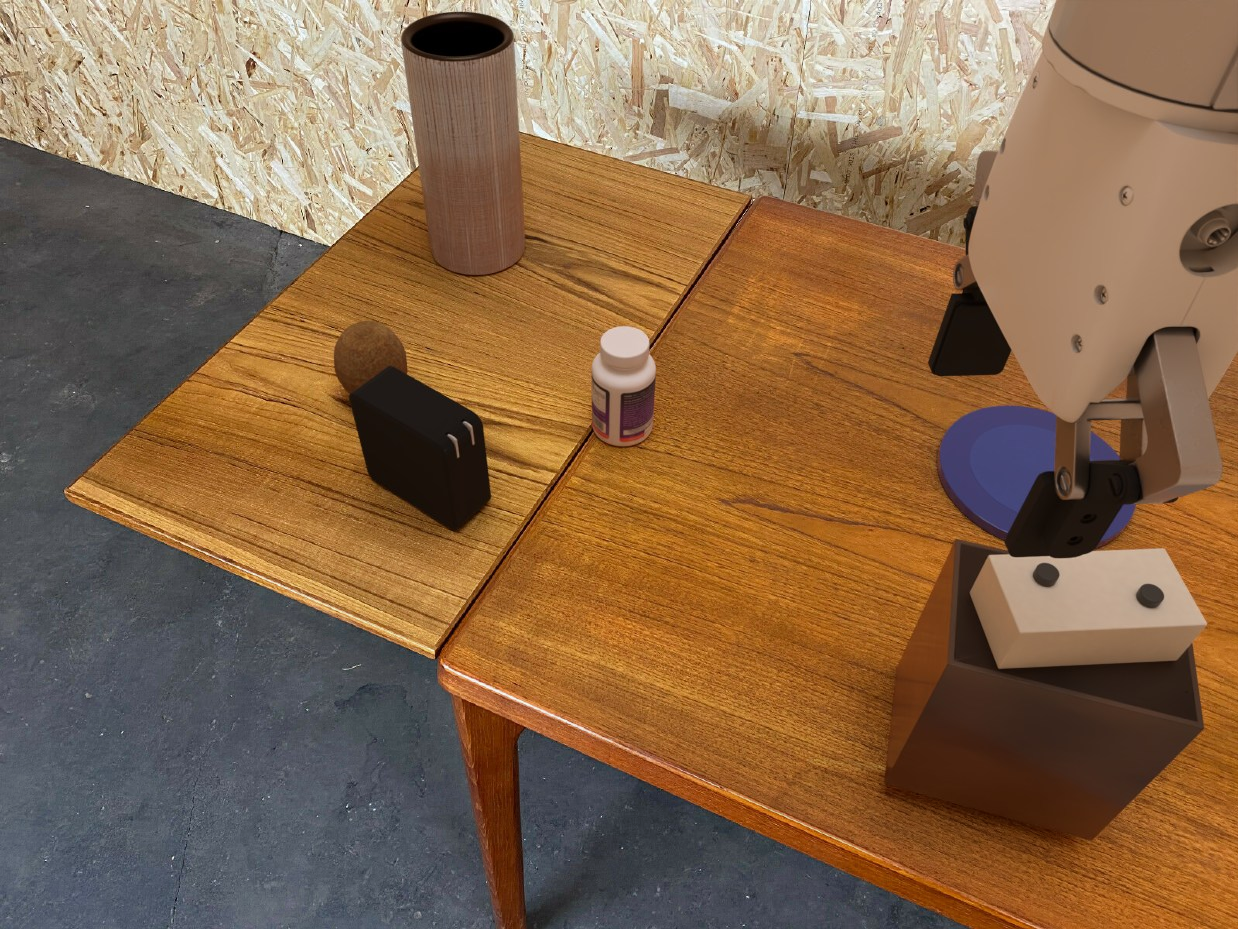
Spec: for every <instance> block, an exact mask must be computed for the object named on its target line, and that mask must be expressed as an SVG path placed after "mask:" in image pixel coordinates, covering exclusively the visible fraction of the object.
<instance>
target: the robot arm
mask: <svg viewBox="0 0 1238 929" xmlns="http://www.w3.org/2000/svg"><path fill="white" fill-rule="evenodd" d="M1041 40H1042V41H1041V52H1040V55H1039V57H1038V59H1037V60H1036V63H1035V65H1034V67H1033V69H1032V71H1031V73H1030V75H1029V78H1028V80H1027V82H1026V85H1025V86H1024V89H1023V91H1022V93H1021V96H1020V97H1019V100H1018V102H1017V104H1016V107H1015V109H1014V112H1013V114H1012V117H1011V119H1010V122H1009V124H1008V126H1007V128H1006V131H1005V133H1004V135H1003V139H1002V141H1001V143H1000V146H999V149H998V150H997V149H996V150H982V151H981V152H980V153H979V155H978V157H977V160H976V161H977V162H976V168H975V175H974V176H975V177H974V187H973V194H972V202H975V205H971V206H970V207H969V208H968V210H967V212H966V214H965V217H964V218H963V223H962V224H963V228H964V231H965V232H964V235H965V236H964V239H965V240H964V241H965V243H964V244H965V256H963V257H962V258H960V259H958V260H957V261H956V262H955V264H954V267H953V271H952V283H953V287H954V289H955V290H957V291H961V292H960V293H959V292H958V293H951V294H950V297H949V300H948V303H947V306H946V309H945V312H944V315H943V317H942V321H941V322H940V326H939V329H938V332H937V335H936V338H935V341H934V343H933V346H932V349H931V352H930V356H929V358H928V361H927V364H928V367H929V369H930V372H931V374H932V375H934V376H937V377H968V376H970V377H971V376H997V375H999V374H1001V373H1002V372H1003V371H1004V369H1005V367H1006V365H1007V362H1008V360H1009V357H1010V355H1011V353H1012V354H1013V355H1014V357H1015V360H1016V361H1017V363H1018V365H1019V366H1020V368H1021V370H1022V372H1023V374H1024V375H1025V377H1026V379H1027V381H1028V383H1029V385H1030V386H1031V388H1032V390H1033V392H1034V393H1035V395H1036V396H1037V397H1038V399H1039V400H1040V401H1041V403H1042V404H1043V405H1044V406H1045V407H1046V408H1047V409H1048V410H1049V412H1052V413H1054V414H1055V415H1056V438H1055V467H1054V471H1046V472H1043V473H1040V474H1039V475H1038V476H1037V478H1036V480H1035V482H1034V484H1033V486H1032V487H1031V489H1030V491H1029V493H1028V495H1027V497H1026V499H1025V501H1024V503H1023V505H1022V507H1021V509H1020V511H1019V513H1018V514H1017V516H1016V518H1015V520H1014V522H1013V524H1012V526H1011V528H1010V530H1009V532H1008V534H1007V536H1006V539H1005V541H1004V546H1005V548H1006V550H1008V552H1009V554H1010V556H1012V557H1040V556H1050V557H1052V558H1074V557H1078V556H1081V555H1084V554H1088V553H1090V552H1092V551H1095V550H1096V549H1095V548H1096V547H1097V545H1098V544H1099V542H1100V541H1101V539H1102V538H1103V536H1104V535H1105V533H1106V531H1107V530H1108V528H1109V527H1110V525H1111V524H1112V522H1113V520H1114V519H1115V517H1116V516H1117V514H1118V513H1119V511H1120V509H1121V508H1122V506H1123V505H1129V504H1136V505H1150V504H1173V503H1175V502H1177V501H1178V500H1179V498H1183V497H1186V496H1189V495H1191V494H1195V493H1197V492H1200V491H1202V490H1206V489H1208V488H1210V487H1213V486H1215V485H1216V484H1218V483H1219V482H1220V480H1221V479H1222V477H1223V472H1224V467H1223V466H1224V465H1223V459H1222V456H1221V455H1222V454H1221V451H1220V450H1221V449H1220V445H1219V441H1218V437H1217V432H1216V428H1215V423H1214V418H1213V414H1212V410H1211V404H1210V401H1209V399H1210V398H1211V396H1212V394H1214V391H1215V390H1216V388H1217V386H1218V385H1219V384H1220V382H1221V380H1222V379H1223V377H1224V375H1225V373H1226V372H1227V370H1228V369H1229V367H1230V365H1231V363H1232V362H1233V360H1234V359H1235V357H1236V356H1237V354H1238V0H1055V2H1054V6H1053V8H1052V11H1051V13H1050V17H1049V20H1048V22H1047V25H1046V28H1045V31H1044V34H1043V37H1042V39H1041ZM1125 381H1126V393H1125V394H1126V396H1125V397H1124V398H1123V397H1122V398H1120V397H1119V398H1106V397H1108V396H1109V395H1110V394H1111V393H1113V391H1115V390H1116V389H1117V388H1118V387H1119V386H1120V385H1121V384H1122V383H1124V382H1125ZM1117 420H1118V421H1120V429H1119V430H1120V431H1119V432H1120V434H1119V453H1118V455H1119V460H1103V461H1090V442H1091V431H1092V422H1093V421H1117Z"/></svg>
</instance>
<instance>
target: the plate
mask: <svg viewBox="0 0 1238 929" xmlns="http://www.w3.org/2000/svg"><path fill="white" fill-rule="evenodd" d="M1055 438H1056V415H1055V414H1054V413H1052V412H1051V411H1050V410H1049V411H1048V410H1045V409H1040V408H1036V407H1030V406H1023V405H1014V404H1013V405H1010V404H1009V405H995V406H987V407H983V408H979V409H976V410H973V411H970V412H968V413H966V414H964V415H963V416H961V417H959V418H958V419H957V420H956V421H954V422H953V423H952V424H951V425H950V426H949V427H948V428H947V430H946V432H945V433H944V434H943V436H942V439H941V441H940V444H939V447H938V450H937V455H936V468H937V473H938V478H939V480H940V482H941V486H942V487H943V489H944V491H945V493H946V495H947V497H949V499H950V500H951V502H952V503H953V504H954V505H955V507H956V508H957V509H958V510H959V512H961V513H962V514H963V515H964V516H966V518H967V519H969V520H970V521H971V522H972V523H974V524H975V525H976V526H977V527H979V528H981V529H982V530H983V531H985V532H987V533H988V534H990V535H992V536H994V537H995V538H998V539H1000V540H1002V541H1004V542H1005V539H1006V536H1007V534H1008V532H1009V530H1010V528H1011V526H1012V524H1013V522H1014V520H1015V518H1016V516H1017V514H1018V513H1019V511H1020V509H1021V507H1022V505H1023V503H1024V501H1025V499H1026V497H1027V495H1028V493H1029V491H1030V489H1031V487H1032V486H1033V484H1034V482H1035V480H1036V478H1037V476H1038V475H1039V474H1040V473H1043V472H1046V471H1054V467H1055ZM1103 460H1119V453H1117V452H1116V451H1115V449H1114V448H1113V447H1112V446H1110V444H1108V443H1107V441H1105V440H1104V439H1103V438H1101V437H1100V436H1099V435H1097V434H1096V433H1094V431H1092V430H1091V442H1090V461H1103ZM1136 505H1137V504H1129V505H1123V506H1122V508H1121V509H1120V511H1119V513H1118V514H1117V516H1116V517H1115V519H1114V520H1113V522H1112V524H1111V525H1110V527H1109V528H1108V530H1107V531H1106V533H1105V535H1104V536H1103V538H1102V539H1101V541H1100V542H1099V544H1098V545H1097V547H1096V548H1095V549H1094V550H1096V549H1099V548H1101V547H1103V546H1106V545H1108V544H1109V543H1111V542H1113V541H1114V540H1116V539H1117V538H1118V537H1119V536H1120V535H1121V534H1122V533H1123V532H1124V530H1125V529H1126V528H1127V526H1128V524H1129V523H1130V521H1131V520H1132V518H1133V516H1134V515H1135V514H1134V513H1135V511H1136Z"/></svg>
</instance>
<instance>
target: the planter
mask: <svg viewBox="0 0 1238 929" xmlns="http://www.w3.org/2000/svg"><path fill="white" fill-rule="evenodd" d="M514 34H515V33H514V32H513V29H512V28H511V27H510V26H509V25H508V24H507V23H506V22H505V21H503V20H501V19H500V18H498V17H496V16H493V15H490V14H486V13H481V12H475V11H446V12H439V13H435V14H434V13H433V14H431V15H427V16H423V17H421V18H419V19H417V20H415V21H413V22H411V23H410V24H408V25H407V27H405V28H404V30H403V31H402V33H401V36H400V44H401V45H400V46H401V52H402V60H403V66H404V73H405V80H406V87H407V94H408V102H409V108H410V115H411V121H412V129H413V135H414V143H415V149H416V150H415V151H416V155H417V156H416V157H417V163H418V170H419V177H420V178H419V179H420V186H421V191H422V199H423V206H424V213H425V220H426V227H427V233H428V241H429V245H430V251H431V254H432V257H433V259H434V261H436V263H437V264H439V265H440V266H441V267H442V268H444V269H446V270H448V271H451V272H454V273H457V274H462V275H468V276H484V275H490V274H494V273H498V272H501V271H503V270H505V269H508V268H510V267H512V266H513V265H514V264H516V263H517V262H518V261H519V260H520V259H521V258H522V256H523V254H524V253H525V249H526V228H525V210H524V208H525V207H524V192H523V174H522V157H521V155H522V154H521V140H520V139H521V136H520V120H519V118H520V117H519V104H518V85H517V82H518V81H517V67H516V66H517V65H516V47H515V35H514Z"/></svg>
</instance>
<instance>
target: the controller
mask: <svg viewBox="0 0 1238 929" xmlns="http://www.w3.org/2000/svg"><path fill="white" fill-rule="evenodd" d="M970 595H971V598H972V601H973V603H974V606H975V608H976V611H977V614H978V616H979V619H980V622H981V624H982V627H983V630H984V632H985V635H986V637H987V640H988V643H989V645H990V648H991V651H992V653H993V656H994V659H995V661H996V664H997V667H998V668H999V669H1006V668H1028V667H1049V666H1070V665H1092V664H1113V663H1135V662H1156V661H1176V660H1178V658H1179V657H1180V656H1181V655H1182V654H1183V653H1184V651H1185V650H1186V649H1187V648H1188V647H1189V646H1190V644H1191V643H1193V642H1194V641H1195V640H1196V639H1197V638H1198V637H1199V635H1200V634H1201V633H1202V632H1203V631H1204V630H1205V628H1206V627H1207V626H1208V622H1207V621H1206V619H1205V617H1204V615H1203V613H1202V611H1201V609H1200V608H1199V605H1198V604H1197V602H1196V601H1195V599H1194V597H1193V596H1192V594H1191V592H1190V590H1189V589H1188V587H1187V585H1186V583H1185V581H1184V580H1183V578H1182V577H1181V574H1180V572H1179V571H1178V569H1177V568H1176V565H1175V564H1174V562H1173V561H1172V559H1171V556H1170V555H1169V554H1168V552H1167V550H1166V548H1164V547H1162V548H1161V547H1159V548H1157V547H1156V548H1138V549H1137V548H1136V549H1134V548H1133V549H1110V550H1093V551H1092V552H1090V553H1088V554H1084V555H1081V556H1078V557H1074V558H1052V557H1050V556H1040V557H1012V556H1010V554H1004V555H989V556H988V557H987V559H986V561H985V563H984V565H983V567H982V569H981V571H980V573H979V575H978V577H977V579H976V581H975V583H974V585H973V587H972V589H971V591H970Z"/></svg>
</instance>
